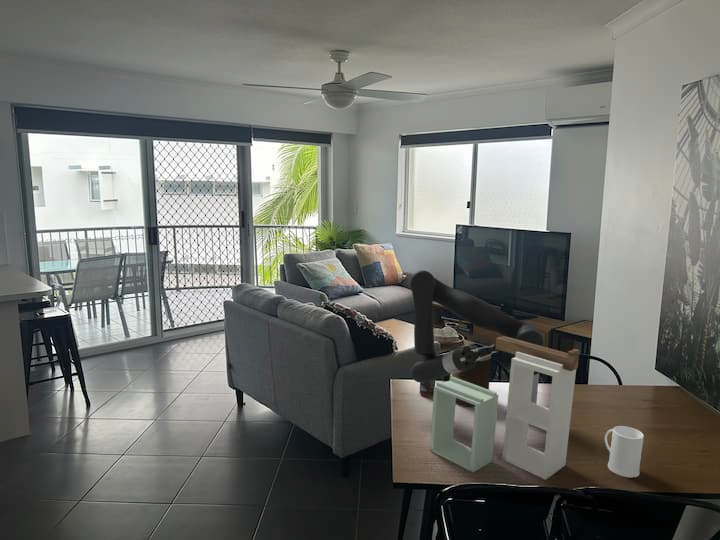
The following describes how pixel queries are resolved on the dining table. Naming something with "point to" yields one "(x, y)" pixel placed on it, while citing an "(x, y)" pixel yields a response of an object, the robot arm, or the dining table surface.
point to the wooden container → (475, 376)
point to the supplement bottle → (427, 388)
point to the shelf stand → (538, 416)
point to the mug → (625, 451)
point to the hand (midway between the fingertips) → (497, 347)
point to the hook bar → (539, 352)
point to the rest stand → (481, 428)
